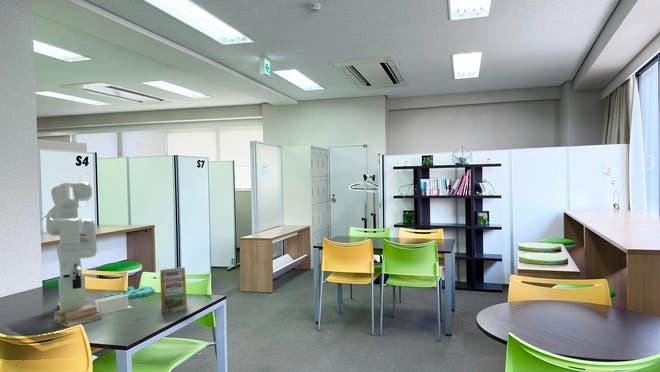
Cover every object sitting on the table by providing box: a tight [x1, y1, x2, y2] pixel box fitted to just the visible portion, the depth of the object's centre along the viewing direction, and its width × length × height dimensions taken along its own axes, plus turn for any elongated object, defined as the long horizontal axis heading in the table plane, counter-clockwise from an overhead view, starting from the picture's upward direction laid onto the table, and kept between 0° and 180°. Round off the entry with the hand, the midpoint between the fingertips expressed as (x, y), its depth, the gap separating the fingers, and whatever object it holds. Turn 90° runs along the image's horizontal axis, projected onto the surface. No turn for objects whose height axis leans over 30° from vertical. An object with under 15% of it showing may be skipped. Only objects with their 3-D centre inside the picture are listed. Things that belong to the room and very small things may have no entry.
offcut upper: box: [63, 304, 98, 319], centre depth 182 cm, size 6×11×2 cm, turn 143°
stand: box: [94, 294, 133, 315], centre depth 199 cm, size 9×13×6 cm
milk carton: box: [159, 266, 188, 315], centre depth 199 cm, size 11×11×19 cm
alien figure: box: [104, 286, 156, 300], centre depth 232 cm, size 20×2×20 cm
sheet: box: [57, 273, 87, 313], centre depth 186 cm, size 1×10×18 cm, turn 143°
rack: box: [53, 310, 103, 328], centre depth 184 cm, size 14×13×6 cm
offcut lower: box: [63, 312, 98, 325], centre depth 182 cm, size 6×11×2 cm, turn 143°
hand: (72, 287), depth 186 cm, fingers open, 9 cm apart
